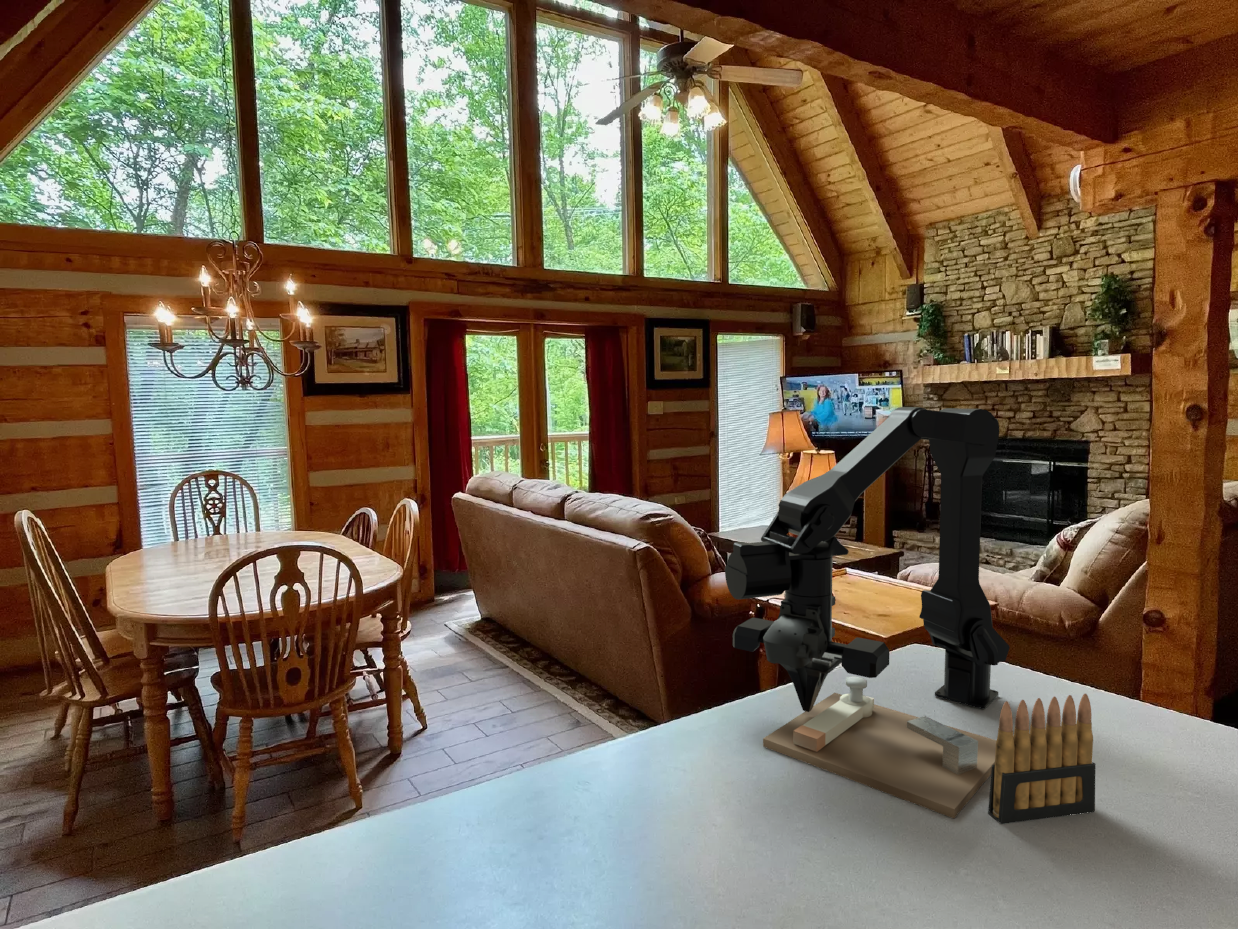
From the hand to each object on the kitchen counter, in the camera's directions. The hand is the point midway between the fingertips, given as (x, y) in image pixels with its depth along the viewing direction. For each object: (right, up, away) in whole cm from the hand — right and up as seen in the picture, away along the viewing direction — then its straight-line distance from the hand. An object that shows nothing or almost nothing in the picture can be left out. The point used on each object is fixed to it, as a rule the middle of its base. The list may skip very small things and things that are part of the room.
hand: (807, 710), depth 92 cm
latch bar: (+3, -1, -3) cm, 4 cm away
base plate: (+7, -2, -7) cm, 10 cm away
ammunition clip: (+18, -4, -20) cm, 27 cm away
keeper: (+12, -2, -11) cm, 16 cm away
